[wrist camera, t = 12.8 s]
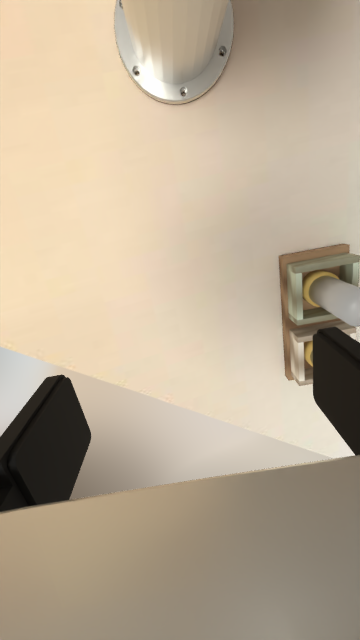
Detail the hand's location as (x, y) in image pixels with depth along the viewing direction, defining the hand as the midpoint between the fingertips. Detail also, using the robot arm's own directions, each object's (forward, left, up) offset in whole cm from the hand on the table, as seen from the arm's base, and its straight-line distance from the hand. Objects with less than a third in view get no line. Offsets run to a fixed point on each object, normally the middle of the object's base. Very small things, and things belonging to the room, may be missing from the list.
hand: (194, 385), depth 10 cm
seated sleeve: (+7, +18, -29) cm, 35 cm away
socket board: (+12, +18, -30) cm, 37 cm away
